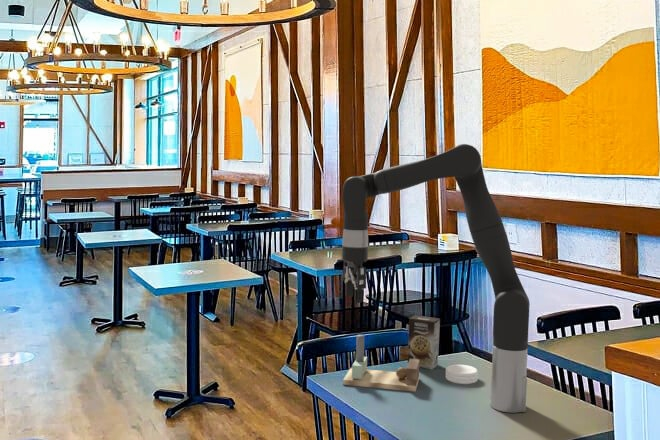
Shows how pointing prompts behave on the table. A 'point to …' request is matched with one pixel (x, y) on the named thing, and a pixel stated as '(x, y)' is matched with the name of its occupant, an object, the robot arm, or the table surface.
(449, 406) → the table surface
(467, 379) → the white bowl
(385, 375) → the base
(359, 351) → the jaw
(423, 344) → the coffee box
